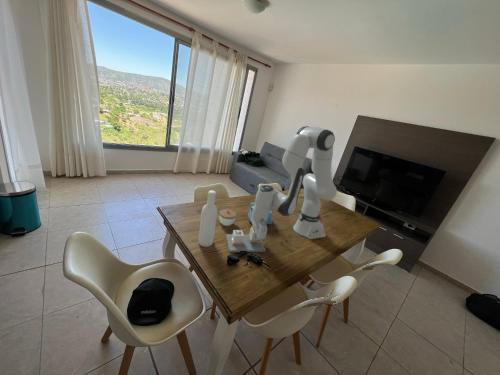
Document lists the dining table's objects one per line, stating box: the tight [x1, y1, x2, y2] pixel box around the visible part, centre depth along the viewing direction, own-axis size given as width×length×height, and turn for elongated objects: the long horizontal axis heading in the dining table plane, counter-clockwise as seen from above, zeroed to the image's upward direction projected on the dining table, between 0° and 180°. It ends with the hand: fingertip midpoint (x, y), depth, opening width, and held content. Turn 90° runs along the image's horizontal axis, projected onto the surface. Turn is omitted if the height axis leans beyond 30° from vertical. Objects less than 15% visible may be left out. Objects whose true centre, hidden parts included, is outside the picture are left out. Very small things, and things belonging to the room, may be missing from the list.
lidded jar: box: [218, 208, 237, 227], centre depth 129 cm, size 11×11×9 cm
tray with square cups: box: [225, 231, 266, 253], centre depth 114 cm, size 20×14×8 cm
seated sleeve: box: [231, 229, 244, 245], centre depth 113 cm, size 6×6×6 cm
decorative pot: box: [247, 202, 274, 225], centre depth 139 cm, size 16×16×14 cm
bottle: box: [197, 189, 218, 248], centre depth 105 cm, size 8×8×30 cm
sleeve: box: [248, 226, 262, 242], centre depth 115 cm, size 6×6×6 cm
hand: (255, 235), depth 115 cm, fingers closed on sleeve, 5 cm apart
